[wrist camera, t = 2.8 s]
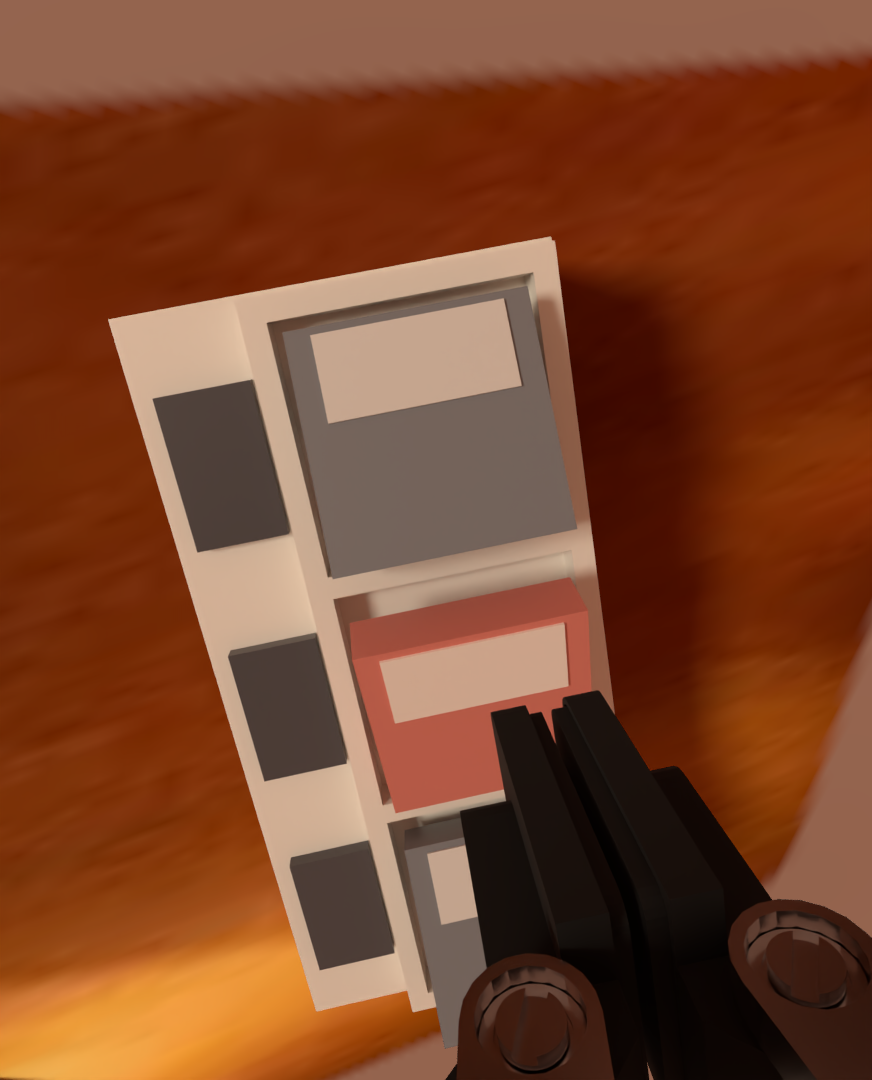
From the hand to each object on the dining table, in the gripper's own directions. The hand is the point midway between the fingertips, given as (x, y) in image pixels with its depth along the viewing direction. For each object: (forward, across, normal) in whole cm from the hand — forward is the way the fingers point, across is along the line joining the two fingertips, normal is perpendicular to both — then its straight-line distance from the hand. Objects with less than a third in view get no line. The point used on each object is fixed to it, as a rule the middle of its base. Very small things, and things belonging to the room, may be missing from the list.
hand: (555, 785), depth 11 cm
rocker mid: (+7, +1, +3) cm, 8 cm away
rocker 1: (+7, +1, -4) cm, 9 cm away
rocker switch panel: (+14, +2, +3) cm, 15 cm away
